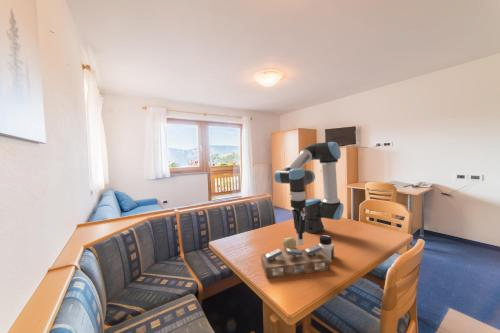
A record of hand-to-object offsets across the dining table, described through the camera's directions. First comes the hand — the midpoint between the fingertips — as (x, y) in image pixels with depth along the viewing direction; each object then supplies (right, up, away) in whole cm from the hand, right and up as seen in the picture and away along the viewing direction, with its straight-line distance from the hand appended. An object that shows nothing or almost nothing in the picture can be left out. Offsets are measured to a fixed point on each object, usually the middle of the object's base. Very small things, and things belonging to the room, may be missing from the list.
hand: (300, 244), depth 101 cm
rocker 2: (-3, -4, -1) cm, 5 cm away
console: (-3, -11, 0) cm, 12 cm away
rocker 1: (-14, -4, -2) cm, 15 cm away
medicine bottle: (+16, -11, +7) cm, 21 cm away
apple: (-1, -11, +19) cm, 22 cm away
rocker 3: (+7, -3, +1) cm, 8 cm away
